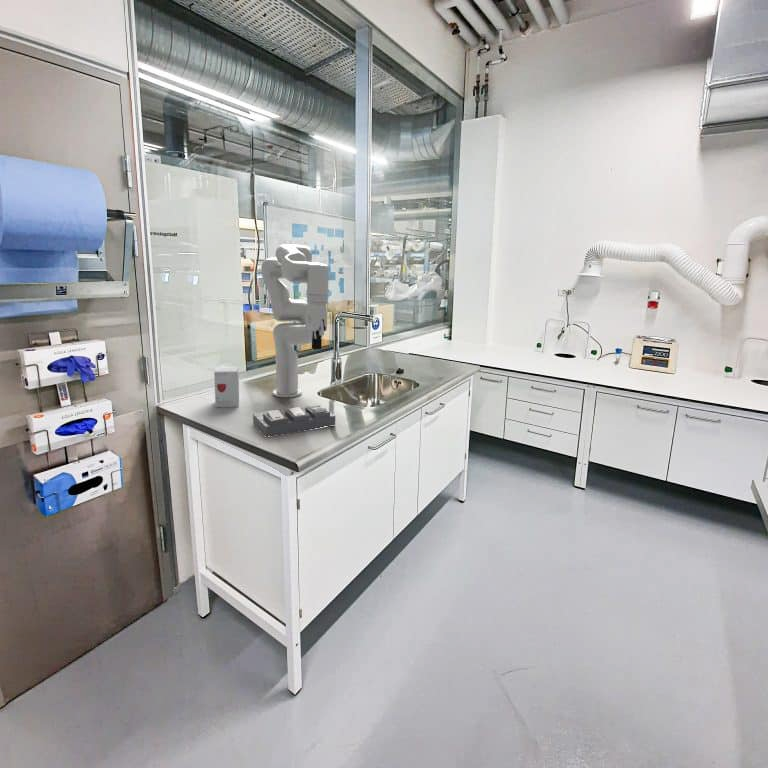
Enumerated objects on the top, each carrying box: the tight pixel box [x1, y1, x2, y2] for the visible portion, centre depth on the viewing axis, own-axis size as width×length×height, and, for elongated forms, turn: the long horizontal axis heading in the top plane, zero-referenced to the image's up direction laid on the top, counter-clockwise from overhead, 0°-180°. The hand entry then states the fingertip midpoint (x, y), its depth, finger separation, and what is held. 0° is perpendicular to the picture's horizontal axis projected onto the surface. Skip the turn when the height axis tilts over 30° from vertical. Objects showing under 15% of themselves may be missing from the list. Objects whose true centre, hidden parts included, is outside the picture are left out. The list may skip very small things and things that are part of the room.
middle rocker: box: [288, 406, 306, 417], centre depth 161 cm, size 6×4×1 cm, turn 33°
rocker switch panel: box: [252, 404, 336, 438], centre depth 163 cm, size 14×26×6 cm, turn 123°
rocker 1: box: [266, 409, 284, 420], centre depth 156 cm, size 6×4×1 cm, turn 33°
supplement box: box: [213, 366, 240, 409], centre depth 181 cm, size 9×9×15 cm
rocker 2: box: [309, 406, 327, 413], centre depth 165 cm, size 6×4×1 cm, turn 33°
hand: (316, 348), depth 167 cm, fingers closed
